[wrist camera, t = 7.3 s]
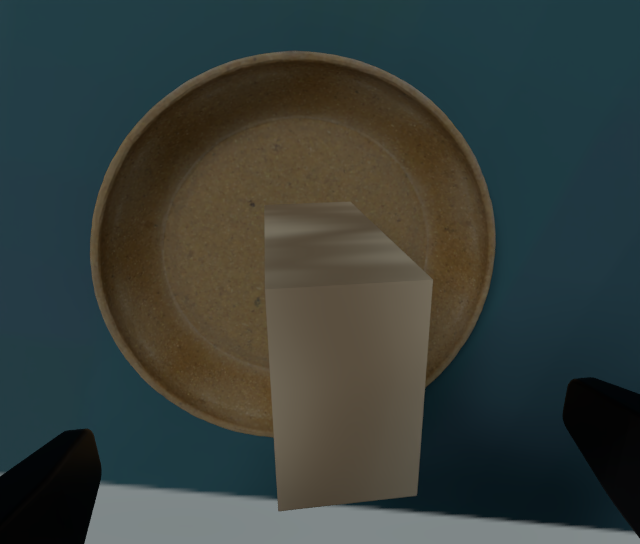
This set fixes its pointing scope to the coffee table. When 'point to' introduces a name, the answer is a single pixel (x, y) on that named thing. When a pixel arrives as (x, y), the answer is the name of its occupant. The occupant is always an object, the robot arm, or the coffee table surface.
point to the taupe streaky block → (343, 356)
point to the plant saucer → (249, 226)
